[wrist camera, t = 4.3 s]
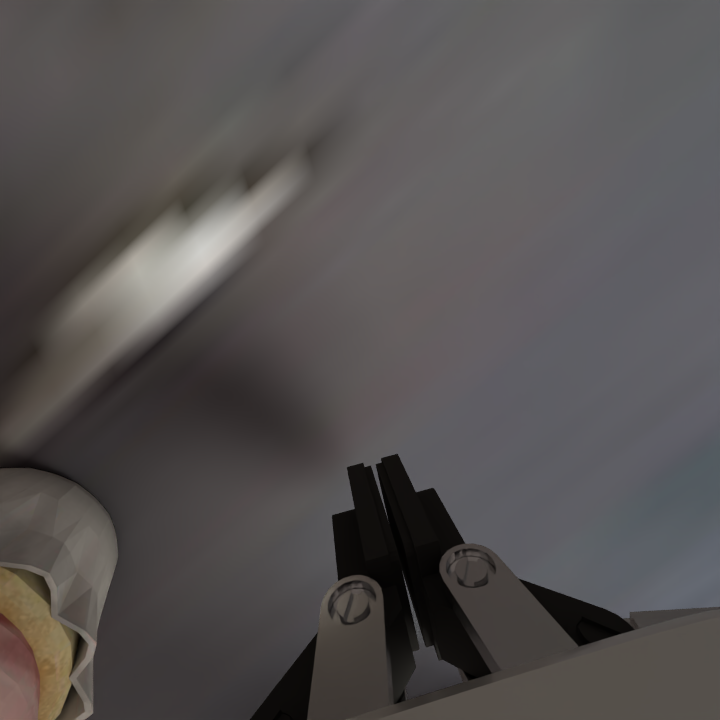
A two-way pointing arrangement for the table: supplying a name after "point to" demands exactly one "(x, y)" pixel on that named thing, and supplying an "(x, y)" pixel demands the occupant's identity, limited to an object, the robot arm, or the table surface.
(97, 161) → the table surface
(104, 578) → the cupcake
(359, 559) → the robot arm
